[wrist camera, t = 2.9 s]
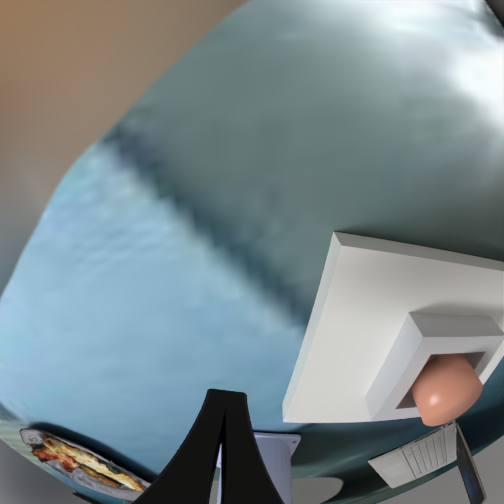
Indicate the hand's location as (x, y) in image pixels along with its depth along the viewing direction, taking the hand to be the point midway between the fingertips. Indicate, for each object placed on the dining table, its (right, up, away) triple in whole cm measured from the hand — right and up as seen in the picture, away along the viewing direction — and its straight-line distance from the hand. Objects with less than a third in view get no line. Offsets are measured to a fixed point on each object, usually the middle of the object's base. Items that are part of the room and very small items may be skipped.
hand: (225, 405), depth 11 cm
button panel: (+15, -1, +11) cm, 18 cm away
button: (+14, -3, +7) cm, 17 cm away
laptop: (+26, -24, +22) cm, 42 cm away
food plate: (-26, -29, +25) cm, 46 cm away
